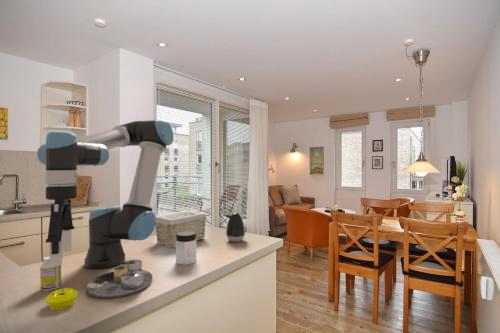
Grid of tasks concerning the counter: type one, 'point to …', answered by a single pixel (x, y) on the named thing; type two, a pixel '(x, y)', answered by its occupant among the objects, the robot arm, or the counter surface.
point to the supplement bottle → (50, 275)
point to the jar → (185, 247)
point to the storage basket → (179, 226)
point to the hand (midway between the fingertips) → (61, 257)
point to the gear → (61, 298)
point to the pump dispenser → (235, 228)
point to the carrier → (120, 281)
